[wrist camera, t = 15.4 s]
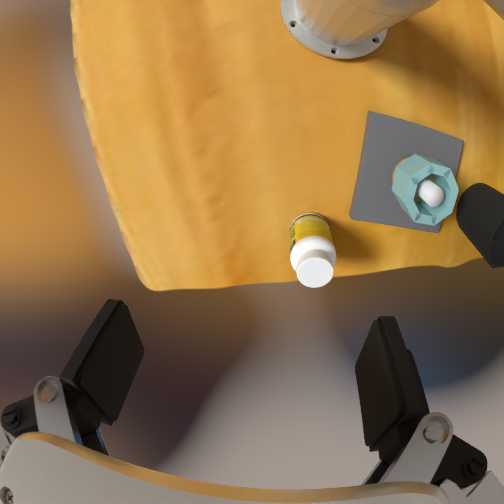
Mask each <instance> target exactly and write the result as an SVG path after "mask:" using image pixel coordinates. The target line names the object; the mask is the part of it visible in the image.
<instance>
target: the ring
mask: <svg viewBox="0 0 504 504" xmlns="http://www.w3.org/2000/svg"><path fill="white" fill-rule="evenodd" d="M431 173H433V175H434V178H435V184H436V185H437V186H438V187H440V188H441V189H442V190H443V193H444V198H443V201H442V203H441V204H440V205H439V206H437V207H431V206H429V205H428V204H427V203H426V202H425V201H424V200H423V201H422V202H420V203H419V202H414V200H413V199H414V196H415V192H416V188H417V184H418V182H420V181H421V180H423V179H424V178H425V177H427V176H428V175H430V174H431ZM391 190H392V191H393V193H394V195H395V196H396V198H397V200H398V202H399V204H400V205H401V207H402V209H403V210H404V211H405V212H406V213H407V214H408V215H409V217H410V218H411V219H412V220H413V221H414V222H416V223H422V224H427V225H432V226H434V225H436V224H437V223H439V222H440V221H441V220H443V219H444V218H445V217H447V216H448V215H450V214H451V213H452V211H453V208H454V205H455V202H456V199H457V195H458V192H459V188H458V186H457V183H456V181H455V178H454V176H453V173H452V171H451V169H450V168H449V167H447V166H445V165H444V164H442V163H440V162H438V161H437V160H435V159H432V158H429V157H425V156H422V155H418V154H413V155H412V156H411V157H409V158H408V159H406V160H405V161H404V162H402V163H401V164H399V165H398V166H397V167H396V172H395V176H394V180H393V185H392V189H391Z"/></svg>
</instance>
